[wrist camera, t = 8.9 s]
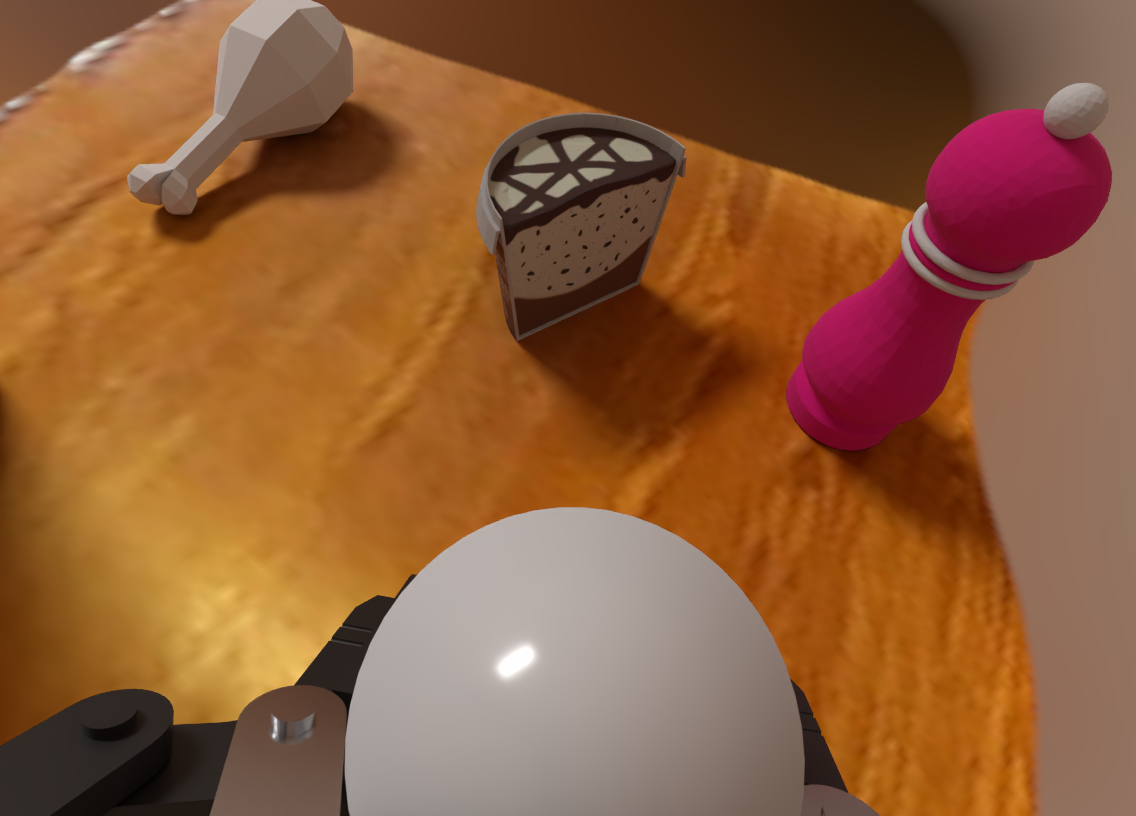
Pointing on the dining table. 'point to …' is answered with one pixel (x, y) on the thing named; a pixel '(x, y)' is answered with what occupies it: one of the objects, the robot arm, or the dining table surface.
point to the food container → (574, 212)
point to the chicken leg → (258, 94)
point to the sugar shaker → (573, 682)
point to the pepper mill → (953, 265)
